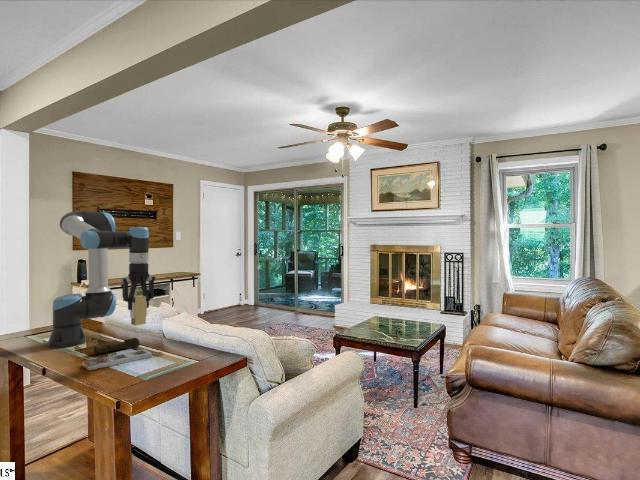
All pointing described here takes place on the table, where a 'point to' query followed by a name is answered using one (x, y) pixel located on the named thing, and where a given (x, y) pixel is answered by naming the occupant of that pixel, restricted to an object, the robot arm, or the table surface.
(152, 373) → the table surface
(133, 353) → the triple square frame
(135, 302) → the brass post
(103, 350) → the hand tool
